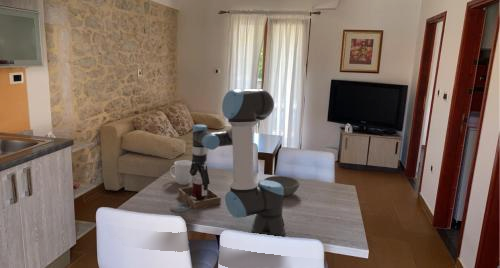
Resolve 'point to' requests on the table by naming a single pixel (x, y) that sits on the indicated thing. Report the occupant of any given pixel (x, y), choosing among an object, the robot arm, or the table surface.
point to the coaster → (180, 207)
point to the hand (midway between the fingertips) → (198, 191)
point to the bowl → (285, 183)
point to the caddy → (199, 204)
